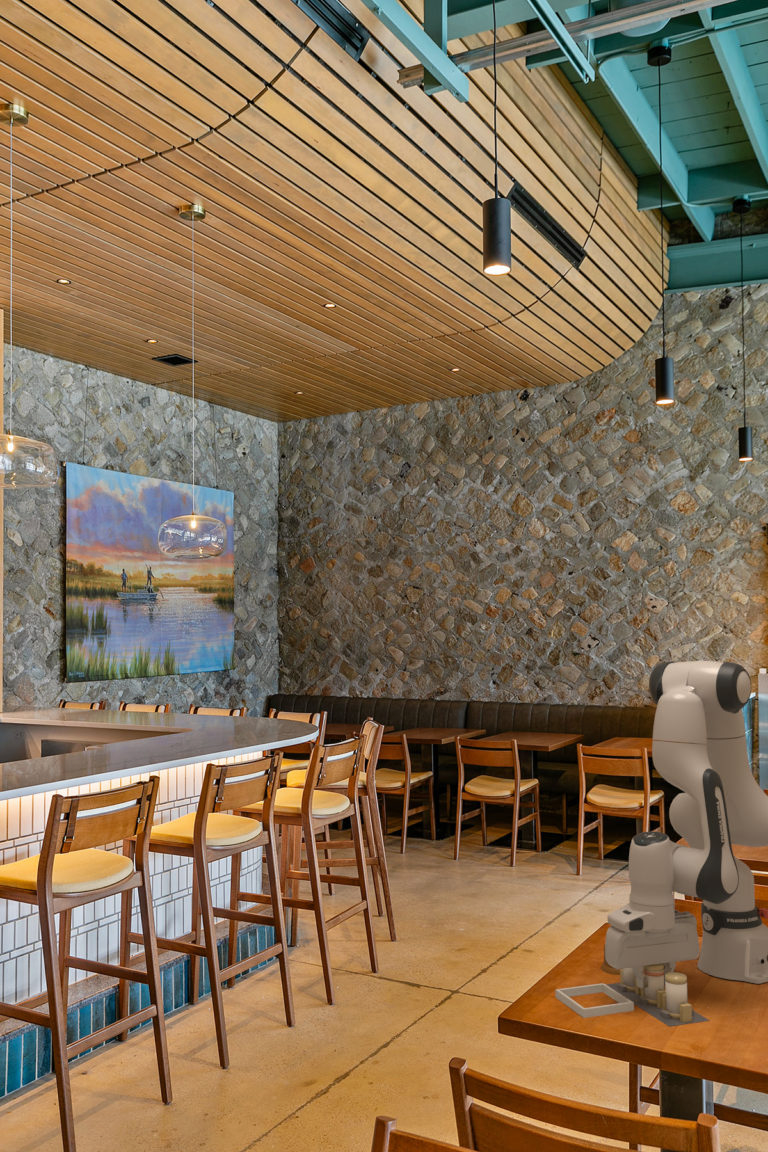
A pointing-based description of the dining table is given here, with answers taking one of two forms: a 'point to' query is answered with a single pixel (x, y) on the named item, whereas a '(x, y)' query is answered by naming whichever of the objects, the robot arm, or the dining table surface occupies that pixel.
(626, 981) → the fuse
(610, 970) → the ornamental finial
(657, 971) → the marked fuse
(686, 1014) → the fuse block
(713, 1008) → the dining table surface
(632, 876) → the robot arm
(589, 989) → the tray
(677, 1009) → the fuse
